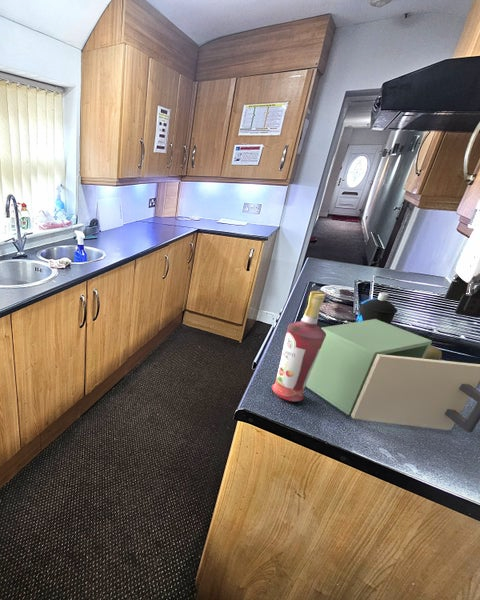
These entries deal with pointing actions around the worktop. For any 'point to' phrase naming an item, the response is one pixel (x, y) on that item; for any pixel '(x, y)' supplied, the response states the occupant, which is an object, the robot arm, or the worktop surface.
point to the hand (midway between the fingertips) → (460, 307)
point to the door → (419, 393)
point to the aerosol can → (377, 309)
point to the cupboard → (357, 358)
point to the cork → (433, 353)
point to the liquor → (300, 352)
